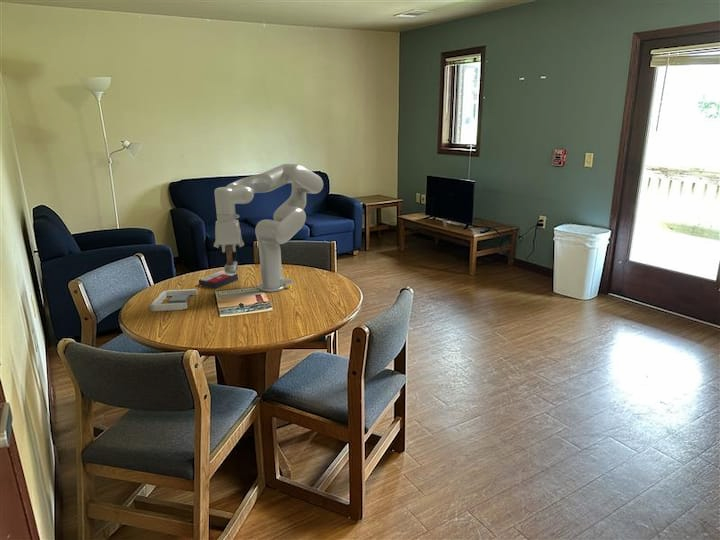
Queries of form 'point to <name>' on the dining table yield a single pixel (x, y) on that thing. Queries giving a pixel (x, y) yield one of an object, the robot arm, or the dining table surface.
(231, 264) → the scraper
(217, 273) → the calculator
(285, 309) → the dining table surface
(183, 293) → the bay
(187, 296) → the tile
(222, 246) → the robot arm
